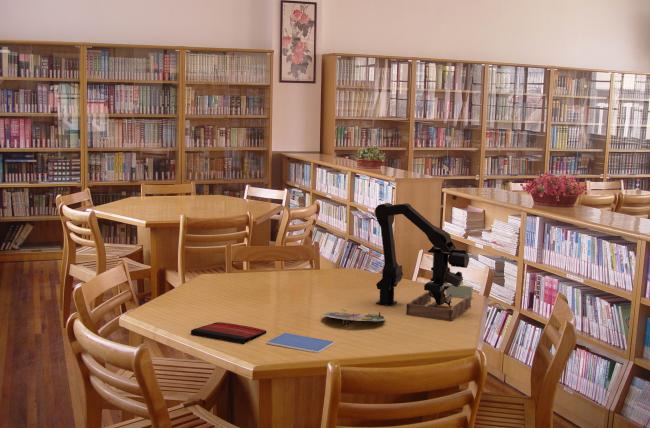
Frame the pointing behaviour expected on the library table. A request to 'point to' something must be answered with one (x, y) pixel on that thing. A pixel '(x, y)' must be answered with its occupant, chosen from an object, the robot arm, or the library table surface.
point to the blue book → (301, 343)
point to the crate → (434, 312)
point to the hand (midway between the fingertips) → (438, 305)
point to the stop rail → (459, 291)
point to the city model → (354, 317)
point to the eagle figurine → (444, 300)
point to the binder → (228, 332)
